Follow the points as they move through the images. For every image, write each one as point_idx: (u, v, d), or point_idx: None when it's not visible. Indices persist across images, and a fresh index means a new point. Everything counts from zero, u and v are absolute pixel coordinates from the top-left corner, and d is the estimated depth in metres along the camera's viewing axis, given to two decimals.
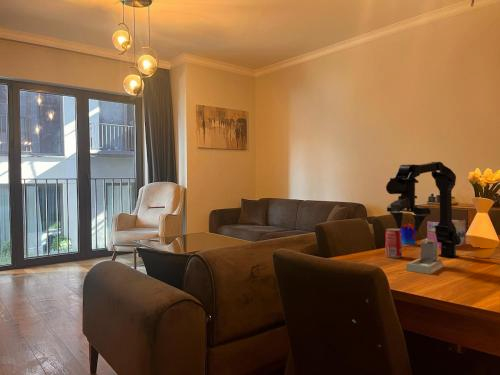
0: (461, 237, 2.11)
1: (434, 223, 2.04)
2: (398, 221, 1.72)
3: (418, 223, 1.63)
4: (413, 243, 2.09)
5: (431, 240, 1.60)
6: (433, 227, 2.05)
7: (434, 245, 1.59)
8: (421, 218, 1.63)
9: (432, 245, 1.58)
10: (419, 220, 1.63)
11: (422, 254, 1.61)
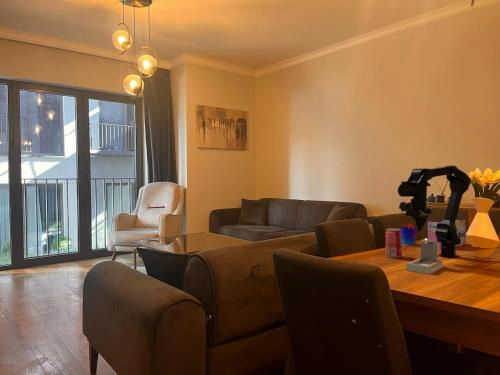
0: (461, 237, 2.11)
1: (434, 223, 2.04)
2: None
3: (418, 224, 1.74)
4: (413, 243, 2.09)
5: (431, 240, 1.60)
6: (433, 227, 2.05)
7: (434, 245, 1.59)
8: (421, 219, 1.72)
9: (432, 245, 1.58)
10: (419, 221, 1.73)
11: (422, 254, 1.61)
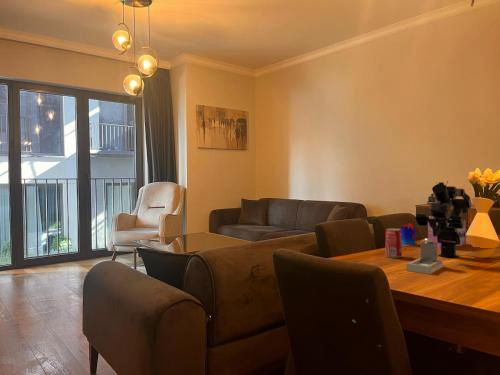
0: (461, 237, 2.10)
1: None
2: (435, 229, 1.68)
3: (439, 229, 1.67)
4: (413, 243, 2.09)
5: (431, 240, 1.60)
6: None
7: (434, 245, 1.59)
8: (441, 228, 1.68)
9: (432, 245, 1.58)
10: (440, 228, 1.68)
11: (422, 254, 1.61)
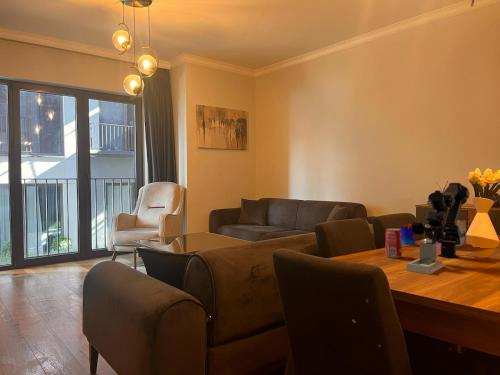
0: (462, 237, 2.10)
1: None
2: (431, 238, 1.64)
3: (435, 239, 1.63)
4: (413, 243, 2.09)
5: (430, 240, 1.59)
6: None
7: (433, 245, 1.58)
8: (438, 237, 1.65)
9: (431, 245, 1.57)
10: (436, 237, 1.64)
11: (421, 254, 1.60)
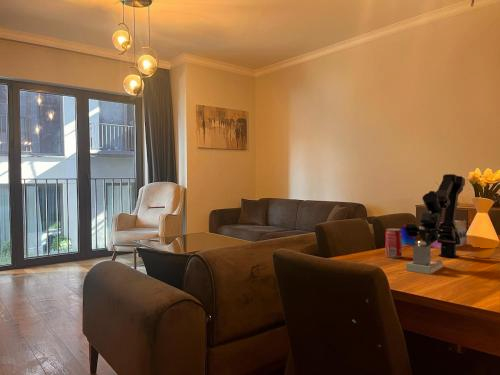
0: (462, 237, 2.10)
1: None
2: None
3: (429, 241, 1.58)
4: (413, 243, 2.09)
5: (424, 243, 1.54)
6: None
7: (427, 248, 1.53)
8: (432, 239, 1.59)
9: (425, 248, 1.52)
10: (430, 239, 1.59)
11: (414, 257, 1.55)
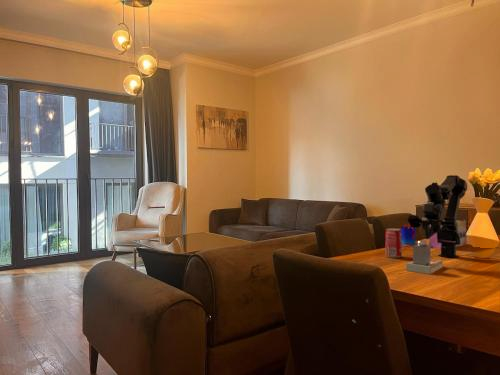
0: (462, 237, 2.10)
1: None
2: (428, 231, 1.61)
3: (432, 232, 1.60)
4: (413, 243, 2.09)
5: (424, 243, 1.53)
6: None
7: (427, 248, 1.52)
8: (435, 230, 1.62)
9: (425, 248, 1.52)
10: (433, 230, 1.61)
11: (414, 257, 1.55)
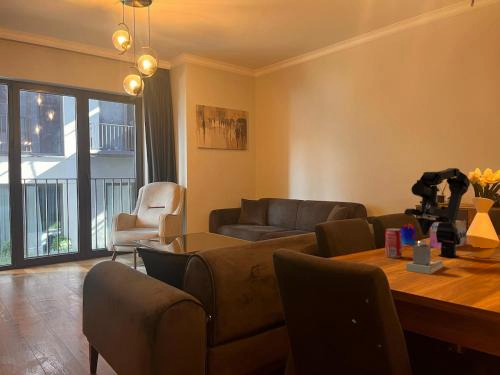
0: (462, 237, 2.10)
1: (437, 223, 2.02)
2: None
3: None
4: (413, 243, 2.09)
5: (424, 243, 1.53)
6: (436, 228, 2.03)
7: (427, 248, 1.52)
8: None
9: (425, 248, 1.52)
10: None
11: (414, 257, 1.55)
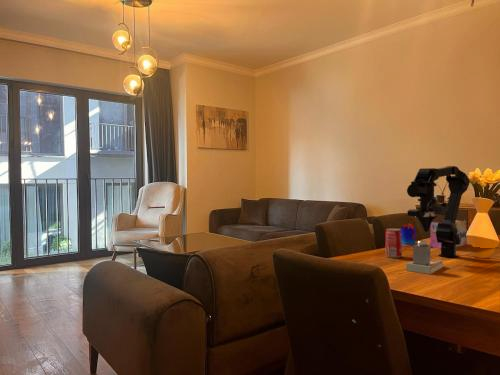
0: (462, 237, 2.09)
1: None
2: None
3: None
4: (413, 243, 2.09)
5: (424, 243, 1.53)
6: None
7: (427, 248, 1.52)
8: None
9: (425, 248, 1.52)
10: None
11: (414, 257, 1.55)
